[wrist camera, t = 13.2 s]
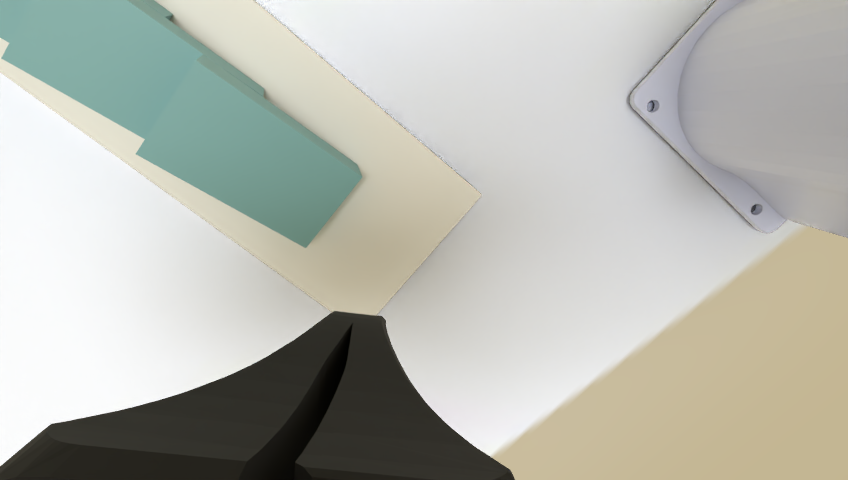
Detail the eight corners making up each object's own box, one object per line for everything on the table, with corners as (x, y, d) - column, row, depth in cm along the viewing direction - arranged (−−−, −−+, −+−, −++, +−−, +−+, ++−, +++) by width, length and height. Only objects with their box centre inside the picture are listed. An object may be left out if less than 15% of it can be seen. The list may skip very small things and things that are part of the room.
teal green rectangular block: (362, 177, 18) (195, 60, 15) (305, 248, 19) (135, 154, 15) (357, 164, 19) (203, 54, 16) (304, 231, 20) (147, 141, 17)
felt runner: (481, 193, 20) (482, 195, 20) (361, 330, 22) (360, 333, 22) (-74, -279, 15) (-83, -286, 15) (-165, -52, 17) (-175, -54, 17)
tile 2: (263, 96, 17) (57, -50, 13) (208, 175, 18) (1, 58, 14) (264, 88, 18) (76, -47, 15) (213, 162, 19) (24, 51, 16)
